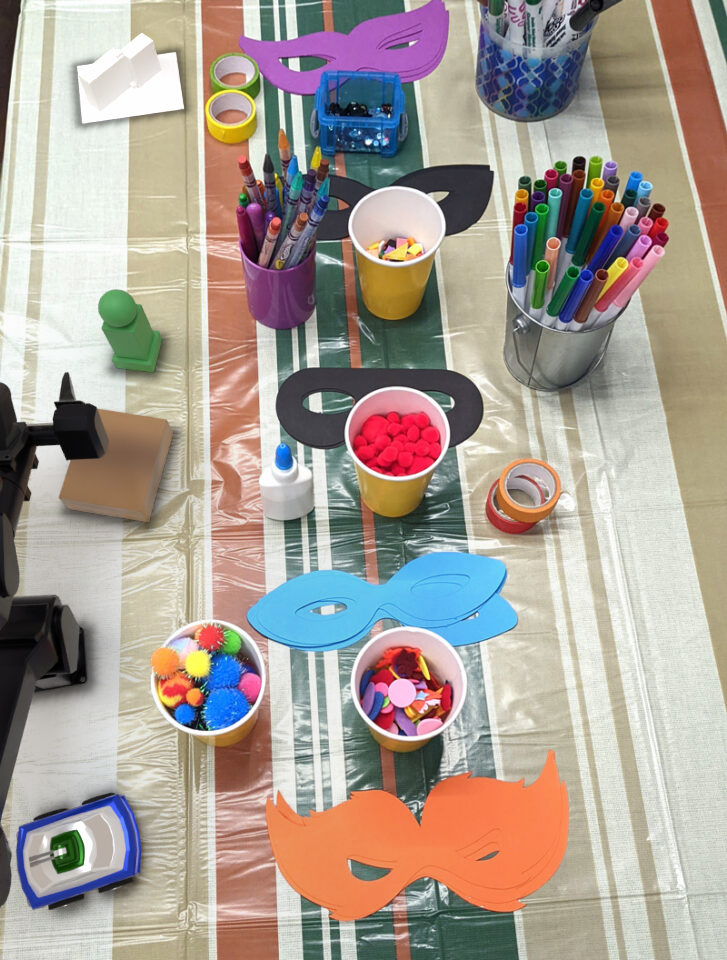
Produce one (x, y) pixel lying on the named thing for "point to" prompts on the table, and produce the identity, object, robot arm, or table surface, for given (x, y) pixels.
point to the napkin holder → (129, 83)
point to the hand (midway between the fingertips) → (24, 376)
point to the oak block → (121, 469)
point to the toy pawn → (129, 332)
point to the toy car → (78, 851)
